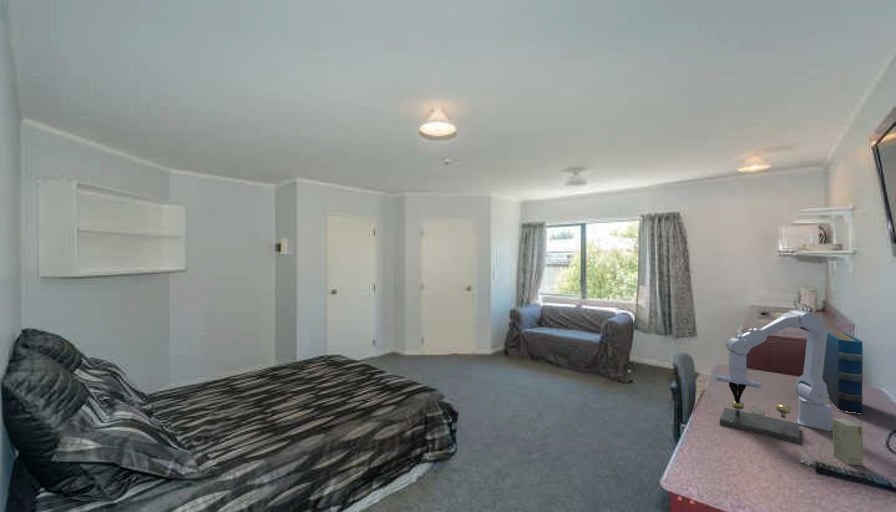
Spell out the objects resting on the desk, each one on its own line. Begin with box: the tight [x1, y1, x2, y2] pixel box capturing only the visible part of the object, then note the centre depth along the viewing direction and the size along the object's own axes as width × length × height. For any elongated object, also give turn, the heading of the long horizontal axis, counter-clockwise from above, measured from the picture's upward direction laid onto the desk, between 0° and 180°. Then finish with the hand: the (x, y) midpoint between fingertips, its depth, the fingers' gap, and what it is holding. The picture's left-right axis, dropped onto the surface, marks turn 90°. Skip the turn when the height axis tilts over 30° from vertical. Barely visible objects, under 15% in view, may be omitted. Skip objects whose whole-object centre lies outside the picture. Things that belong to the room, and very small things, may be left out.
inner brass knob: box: [775, 403, 791, 419], centre depth 148 cm, size 4×4×4 cm
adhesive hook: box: [799, 453, 815, 466], centre depth 123 cm, size 3×3×3 cm
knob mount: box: [719, 407, 800, 444], centre depth 149 cm, size 23×15×2 cm, turn 48°
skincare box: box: [832, 417, 864, 466], centre depth 125 cm, size 6×4×12 cm
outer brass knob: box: [730, 399, 745, 413], centre depth 157 cm, size 4×4×4 cm
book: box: [822, 331, 864, 413], centre depth 170 cm, size 24×9×30 cm, turn 148°
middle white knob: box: [750, 405, 766, 420], centre depth 146 cm, size 4×4×4 cm
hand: (737, 402), depth 157 cm, fingers closed, pressing on outer brass knob
